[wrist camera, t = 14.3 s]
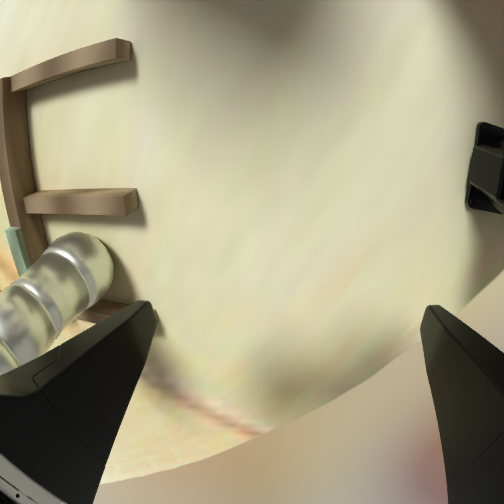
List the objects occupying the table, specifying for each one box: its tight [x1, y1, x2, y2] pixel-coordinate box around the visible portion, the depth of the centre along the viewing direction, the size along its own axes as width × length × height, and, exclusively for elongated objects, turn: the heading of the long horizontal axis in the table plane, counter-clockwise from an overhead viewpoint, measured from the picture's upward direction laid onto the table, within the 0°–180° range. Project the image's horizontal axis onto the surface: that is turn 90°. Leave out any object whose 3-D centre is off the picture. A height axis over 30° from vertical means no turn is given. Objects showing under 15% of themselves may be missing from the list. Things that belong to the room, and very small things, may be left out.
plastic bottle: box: [0, 232, 114, 375], centre depth 17 cm, size 6×7×20 cm
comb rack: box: [0, 38, 157, 324], centre depth 22 cm, size 14×24×4 cm, turn 179°
